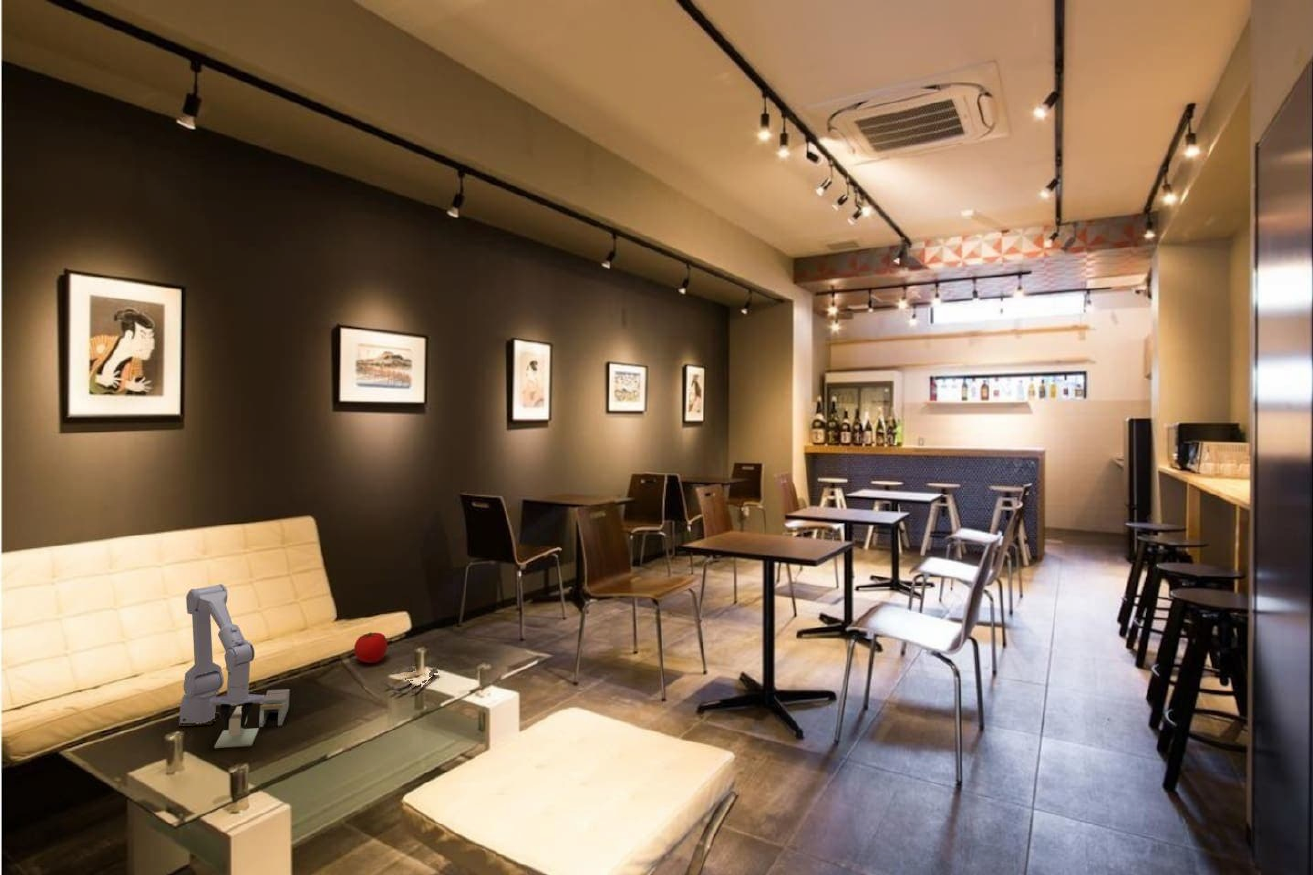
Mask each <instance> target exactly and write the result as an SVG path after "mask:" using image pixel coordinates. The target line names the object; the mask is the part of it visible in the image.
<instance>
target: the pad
mask: <svg viewBox="0 0 1313 875" xmlns="http://www.w3.org/2000/svg"><path fill="white" fill-rule="evenodd" d="M259 730H260V727H257V728H254V727H253V728H243V729H242V731H241V733H240V735H228V733H229V729H227V730H225V729H224V730H223V729H222V732H221V734H219V737H218V739H217V741H216V743H214V744H215V745H214V747H213V748H214V749H220V748H221V749H222V748H223V749H224V748H239V747H251V746H253V744H254V741H255V739H256V737H257V735H258V732H259Z"/></svg>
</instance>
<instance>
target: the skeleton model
mask: <svg viewBox="0 0 1313 875" xmlns="http://www.w3.org/2000/svg"><path fill="white" fill-rule="evenodd" d="M416 668H417V667H415V666H406V667H405V668H401V669H400V668H399V669H398V668H397V669H396V670H394V671H392V672H391V674H392V676H393V675H399V674H403V673H414V672H413V671H415V669H416ZM437 669H438V668H437V667H436V666H434V667H432V669H431V668H430V669H429V670H430V671H431V672H430V673H429V677H431V676H433V675H434V673H438V671H439V670H438V671H437ZM433 677H434V676H433ZM410 681H413V680H410ZM410 681H409V680H407V681H406V682H405V684H402V685H400V686H395V685H396V684H395V685H392V684H388V683H387V682H385V681H384V680H380V682H381V683H382V684H383V685H384V686H386V687H387V688H389V690H390V691H393V693H395V694H397V695H405V694H408V693H411V694H417V693H419V692H420V691H421V690H419V688H418V689H415V690H414V691H413V689H412V688H411V686H410V687H409V688H407V689H404V688H406V687H407V686H406V683H410ZM426 681H427V680H424V681H422V683H425V682H426ZM401 689H404V690H403V691H399V690H401Z"/></svg>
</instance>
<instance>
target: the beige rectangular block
mask: <svg viewBox="0 0 1313 875" xmlns="http://www.w3.org/2000/svg"><path fill="white" fill-rule="evenodd" d="M242 706H243V705H240V706H238V705H236V707H235V709H234V711H232V712H233V713H232V716H231V717H230V719H229V729H228V730H229V733H228V735H240V733H241V731H242V729H244V728H241V720H242V712H241V708H242ZM247 723H248V717H247V718H246V722H245V725H246V724H247Z"/></svg>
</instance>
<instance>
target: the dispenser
mask: <svg viewBox="0 0 1313 875" xmlns="http://www.w3.org/2000/svg"><path fill="white" fill-rule="evenodd" d="M290 690H291V689H288V688H287V689H269V690H267V691H266V694H265V698H264V703H263V704H260V705H259V717H258V718H259V721H258V728H264V726H265V724H266V721H267V720H268V717H269V714H272V713H278V716H277V726H278V727H281V726H283V723H284V721H285V718H286V717H287V713H288V712H289V709H290V708H289V706H290Z"/></svg>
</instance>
